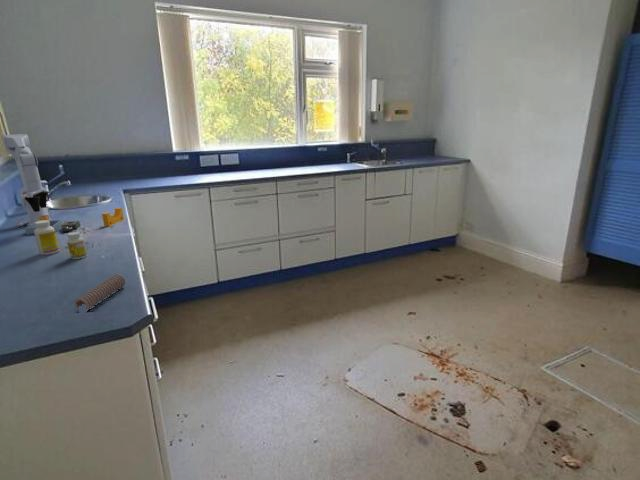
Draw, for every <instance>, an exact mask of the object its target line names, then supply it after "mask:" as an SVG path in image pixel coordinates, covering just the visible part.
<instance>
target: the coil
mask: <svg viewBox="0 0 640 480" xmlns="http://www.w3.org/2000/svg"><path fill="white" fill-rule="evenodd" d="M124 285H126V279H125V277H124V276H123V275H122V274H119V273H116V274H114V275H112V276H110V277H109V278H107V279H106V280H104V281H102V282H100V283H99V284H98V285H96V286H94V287H93V288H91V289H89V291H87V292H85V293H83V294H82V295H80V296H79V297H77V298H75V300H74V301H73V302H74V307H75V308H76V309H77V308H79V306H82V304H85V305H86V309H89V308H91V307H92V306H94V305H95V304H97V303H98V302H99V301H101V300H103V299H104V298H106V297H108V295H110V294H112V293H113V292H115V291H117V290H118V289H119V288H121V287H123V286H124ZM124 287H125V286H124ZM124 287H123V288H124ZM121 289H122V288H121ZM118 291H119V290H118ZM118 291H117V292H118ZM115 293H116V292H115ZM108 298H109V297H108Z"/></svg>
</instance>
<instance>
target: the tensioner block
mask: <svg viewBox="0 0 640 480" xmlns="http://www.w3.org/2000/svg"><path fill="white" fill-rule="evenodd" d="M80 227H81V221H80V220H72V221H71V220H70V221H65V222H63V224H62V225H61V232H62V233H63V234H65V233H68V234H69V233H72V232H74V230H78V228H80Z"/></svg>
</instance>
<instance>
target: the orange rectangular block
mask: <svg viewBox="0 0 640 480" xmlns="http://www.w3.org/2000/svg"><path fill="white" fill-rule="evenodd" d="M49 218H50V214H49V215H42V216H40V217H39V220H40V221H42V220H49V222H50V221H51V220H50V219H51V218H50V219H49Z"/></svg>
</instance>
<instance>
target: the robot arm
mask: <svg viewBox="0 0 640 480" xmlns="http://www.w3.org/2000/svg"><path fill="white" fill-rule="evenodd" d="M1 138H2V139H1V140H2V142H3V146H4V149H5V152H7V154H8V155H10V156H12V157H13V159H14V161H15V163H16V165H17V170H18V172H19V175H20V179H21V182H22V186H23V187H22V188H21V189H20V190H19V191H18V195H19V200H20V203H21V206H23V207H25V208H26V212H27V215H28V219H29V223H27V224H26V225H27V226H30V225H31V224H33V223H34V222H37V221H40V220H39V217H40V216H42V215H49V216H50V213H49V211H48V207H47V201H48V200H47V199H48V195H49V191H47V189H46V188H45V187H44V186H43V184H42V181H41V176H40V173H39V172H40V171H39V168H38V166H39V162H38V158H37V155H36V153H35V152H32V150H31V147H30V145H31V143H30V139H29V135H28V134H26V133H19V134H18V133H17V134H2V136H1ZM49 219H50V221H53V219H52V218H50V217H49Z"/></svg>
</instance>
